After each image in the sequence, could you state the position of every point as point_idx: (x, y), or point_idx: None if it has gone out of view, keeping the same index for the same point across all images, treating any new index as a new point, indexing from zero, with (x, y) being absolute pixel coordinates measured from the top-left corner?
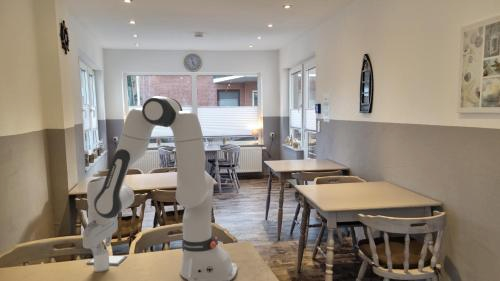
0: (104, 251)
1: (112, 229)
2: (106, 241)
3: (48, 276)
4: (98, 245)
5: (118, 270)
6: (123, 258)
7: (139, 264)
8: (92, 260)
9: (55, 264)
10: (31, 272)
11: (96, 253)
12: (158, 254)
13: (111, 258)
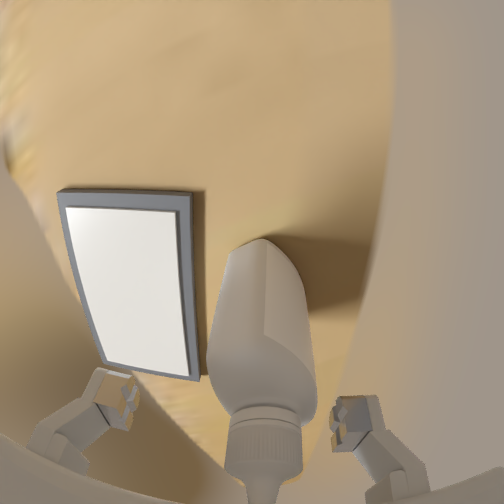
0: (284, 378)
1: (6, 502)
2: (105, 425)
3: (319, 434)
4: (296, 475)
5: (284, 151)
6: (91, 200)
7: (163, 22)
8: (168, 368)
9: (217, 445)
10: None
11: (378, 412)
12: (18, 3)
13: (116, 283)
